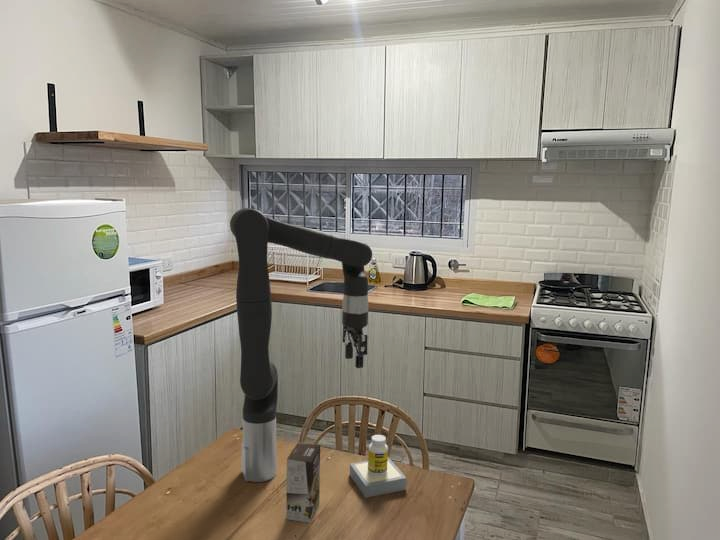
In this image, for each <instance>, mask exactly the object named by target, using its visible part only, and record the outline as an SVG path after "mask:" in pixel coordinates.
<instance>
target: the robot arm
mask: <svg viewBox="0 0 720 540" xmlns="http://www.w3.org/2000/svg"><path fill="white" fill-rule="evenodd" d="M229 226H230V231H231V233H232V235H233V236H234V237H235V241H236V247H237V255H238V272H237V280H236V292H235V294H236V295H235V298H236V299H235V300H236V315H237V323H238V325H237V327H238V333H239V335H238V336H239V341H240V352H241V353H240V355H241V356H240V375H239V376H240V378H239V383H240V384H239V385H240V388H241V390H242V393H244V401H243V406H242V439H241V473H242V476H243V479H244V482H246V483H247V482H251V483H252V482H253V483H262V482H267V481H270V480H272V479H274V477H275V476H276V474H277V407H278V397H279V396H278V392H279V391H278V386H279V384H278V383H279V378H278V377H279V374H278V369H277V367H276V365H275V364H274V362H273V361H271V360H270V353H269V345H270V336H271V329H272V319H273V306H272V305H273V304H272V292H271V280H270V273H269V268H268V267H269V265H268V243H270V244H273V245H279V246H283V247H285V248H289V249H292V250H295V251H297V252H301V253H305V254H307V255H311V256H315V257H318V258H323V259H328V260H333V261H338V262H340V263H341V267H342V274H343V296H342V305H341V306H342V308H341V309H342V312H341V313H342V314H341V315H342V316H341V325H342V339H341V340H342V343H344V347H345V348H344V349H345V352H344V353H345V354H344V357H345V359H346V360H350V359H353V357H354V352H355V359H354V360H355V363H354V364H355V365H354V366H355V368H356V369H362V368H364V358H365V357H364V356H367V355H368V334H367V333H364V332H363V329H364V328H365V327H367V326H368V325H369V295H368V294H369V280H368V275H366V272H365V266H367V265H368V264H370V262H371V261H372V259H373V250H372V248H371V247H370V246H369V245H368V244H367V243H366V242H362V241H360V240H356V239H349V238H344V237H340V236H338V235H336V234H333V233H329V232H325V231H323V230H318V229H315V228H314V229H313V228H309V227H305V226H299V225H293V224H290V223H286V222H283V221H282V222H281V221H279V220H276V219H273V218H270V217H269V216H267V215H265V214H264V213H263V212H261V211H260V210H258V209H255V208H250V207H245V208H241V209H239V210H237V211H235V213H233V215H232V216H231V218H230V222H229Z"/></svg>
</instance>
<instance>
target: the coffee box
mask: <svg viewBox="0 0 720 540" xmlns="http://www.w3.org/2000/svg"><path fill="white" fill-rule="evenodd" d="M320 475H321V445H319V444H313V443H312V444H311V443H299V442H298V443H296V445H295V446H294V448H293V450H291V451H290V453H289V455H288V456H287V458H286V490H285V491H286V496H285V497H286V500H285V501H286V504H285V505H286V507H285V509H286V511H285V516H286V517H285V518H286V520H290V521H296V522H302V523H307V524H309V523H311V520H312V519H313V518H314V517H313V516H314V515H315V512H316V511H317V509H318V507H319V504H320V499H321V498H320V492H321V491H320V489H321V488H320V483H321V481H320V480H321V476H320Z"/></svg>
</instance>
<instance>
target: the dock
mask: <svg viewBox="0 0 720 540" xmlns="http://www.w3.org/2000/svg"><path fill="white" fill-rule="evenodd" d="M349 476H350V477H351V479H352V481H353V482H354V484H355V485H356V486H357V488H358V490H359V491H360V493H361V494H362V496H364V498H365V499H368V498H373V497H376V496H383V495H387V494H391V493H397V492H401V491H406V490H407V476H406V475H405V474H404V473H403V472H402V471H401V470H400V469H399V467H398V466H397V465H396V464H395V463H394V462H393V460H392V459H391V458H390V457H389V456H388V461H387V472H386V473H385V474H382V475H374V474H371V473H370V472H369V471H368V460H363V461H358V462H353V463H349Z"/></svg>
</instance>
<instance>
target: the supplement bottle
mask: <svg viewBox="0 0 720 540" xmlns="http://www.w3.org/2000/svg"><path fill="white" fill-rule="evenodd" d="M367 452H368V454H367V461H368V471H369V472H370V473H371V474H374V475H382V474H385V473H386V472H387V461H388V457H389V456H388V455H389V446H388V445H387V438H386V436H385V435H383V434H374V435H372V436H371V443H369V445H368V451H367Z"/></svg>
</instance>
